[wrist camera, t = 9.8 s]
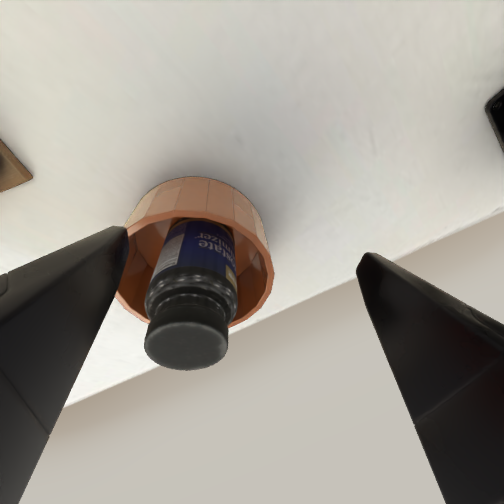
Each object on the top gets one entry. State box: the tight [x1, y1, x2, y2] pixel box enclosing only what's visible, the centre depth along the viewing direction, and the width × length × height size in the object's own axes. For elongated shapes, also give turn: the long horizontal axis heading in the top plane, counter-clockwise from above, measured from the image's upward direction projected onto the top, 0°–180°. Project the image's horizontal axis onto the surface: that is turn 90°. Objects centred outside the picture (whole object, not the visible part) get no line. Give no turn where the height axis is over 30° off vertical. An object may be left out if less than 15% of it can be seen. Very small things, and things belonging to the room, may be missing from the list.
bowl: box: [115, 177, 274, 328], centre depth 21 cm, size 12×12×6 cm
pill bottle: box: [144, 217, 238, 371], centre depth 19 cm, size 6×6×11 cm
